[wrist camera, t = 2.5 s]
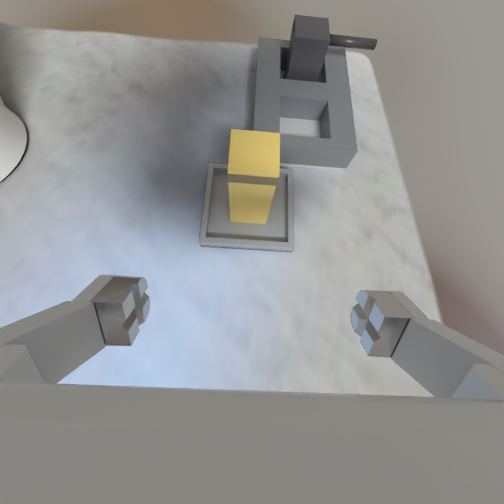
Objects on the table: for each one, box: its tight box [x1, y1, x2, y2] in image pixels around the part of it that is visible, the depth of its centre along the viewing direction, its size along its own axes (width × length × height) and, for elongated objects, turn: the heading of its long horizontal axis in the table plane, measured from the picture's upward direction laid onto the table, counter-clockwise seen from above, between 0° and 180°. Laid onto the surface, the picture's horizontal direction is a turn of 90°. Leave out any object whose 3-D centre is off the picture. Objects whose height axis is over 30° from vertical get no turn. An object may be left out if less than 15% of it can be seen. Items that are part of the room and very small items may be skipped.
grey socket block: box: [253, 15, 377, 171], centre depth 29 cm, size 14×18×8 cm
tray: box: [199, 163, 294, 252], centre depth 27 cm, size 10×10×1 cm
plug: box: [227, 129, 280, 224], centre depth 23 cm, size 4×4×9 cm
